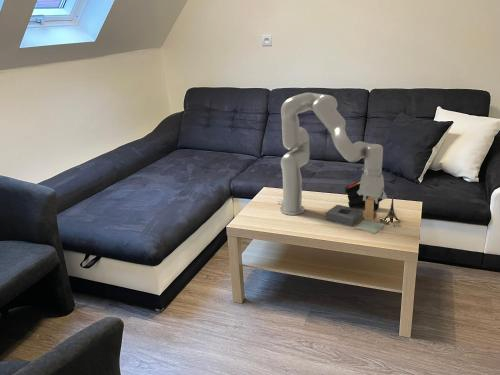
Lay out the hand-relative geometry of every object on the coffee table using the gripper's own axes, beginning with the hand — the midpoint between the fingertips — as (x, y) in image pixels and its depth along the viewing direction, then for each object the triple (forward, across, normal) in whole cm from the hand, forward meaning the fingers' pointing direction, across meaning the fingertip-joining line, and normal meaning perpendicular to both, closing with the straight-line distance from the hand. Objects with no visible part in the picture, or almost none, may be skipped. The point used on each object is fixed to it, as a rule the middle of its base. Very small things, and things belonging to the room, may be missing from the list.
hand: (371, 209), depth 198 cm
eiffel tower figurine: (+10, +4, +13) cm, 17 cm away
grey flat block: (+9, -14, +2) cm, 17 cm away
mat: (+9, 0, 0) cm, 9 cm away
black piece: (+9, -15, +19) cm, 26 cm away
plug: (+5, 0, 0) cm, 5 cm away
